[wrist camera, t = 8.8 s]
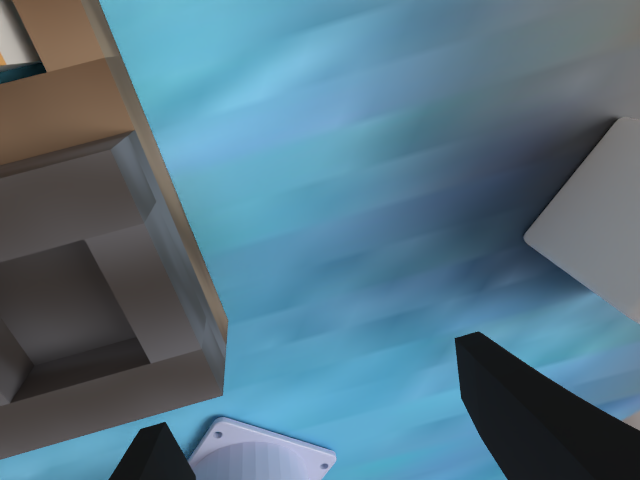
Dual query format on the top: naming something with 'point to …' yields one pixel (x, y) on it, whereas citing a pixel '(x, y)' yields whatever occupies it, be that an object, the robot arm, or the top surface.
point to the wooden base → (93, 248)
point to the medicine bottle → (599, 221)
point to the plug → (14, 40)
